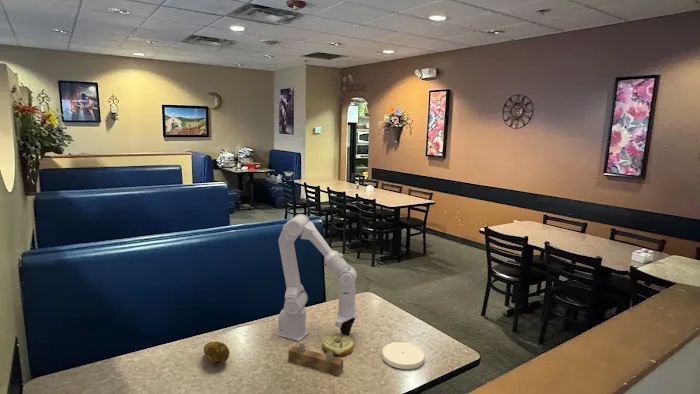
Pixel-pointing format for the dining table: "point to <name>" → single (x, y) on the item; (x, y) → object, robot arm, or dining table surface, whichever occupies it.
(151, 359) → the dining table surface
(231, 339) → the dining table surface
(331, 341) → the decorated donut
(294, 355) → the bar
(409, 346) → the plastic lid
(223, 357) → the potato
